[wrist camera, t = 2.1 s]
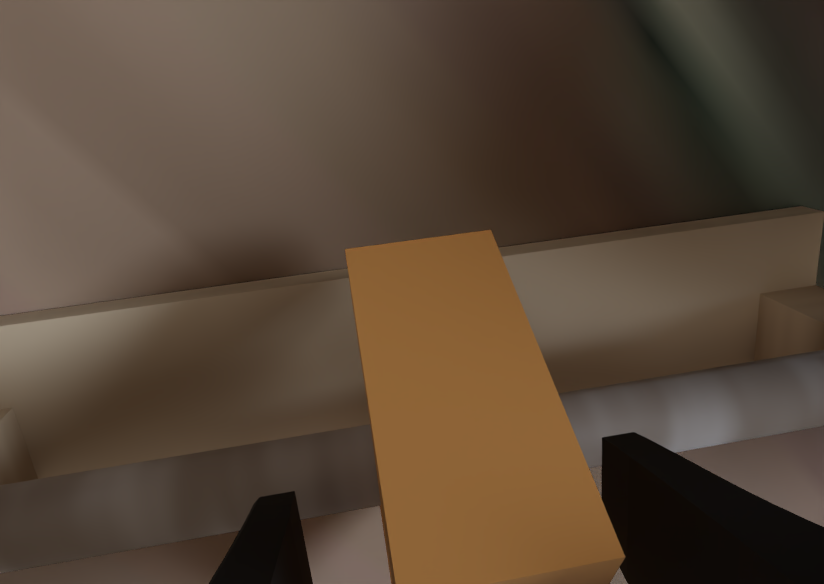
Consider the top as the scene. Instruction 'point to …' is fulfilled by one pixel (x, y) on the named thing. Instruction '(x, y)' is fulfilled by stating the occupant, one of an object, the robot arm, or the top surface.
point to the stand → (345, 391)
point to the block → (470, 424)
